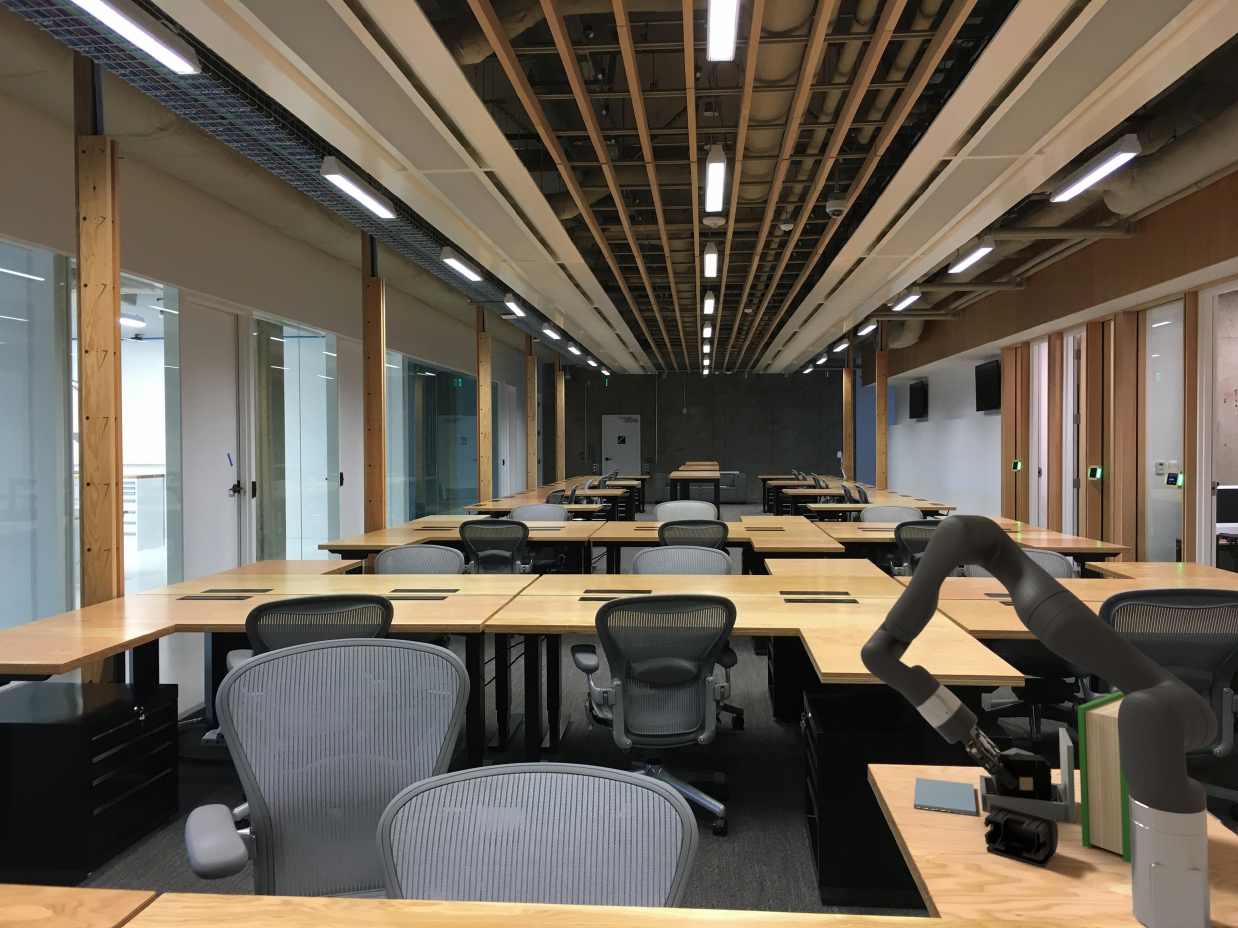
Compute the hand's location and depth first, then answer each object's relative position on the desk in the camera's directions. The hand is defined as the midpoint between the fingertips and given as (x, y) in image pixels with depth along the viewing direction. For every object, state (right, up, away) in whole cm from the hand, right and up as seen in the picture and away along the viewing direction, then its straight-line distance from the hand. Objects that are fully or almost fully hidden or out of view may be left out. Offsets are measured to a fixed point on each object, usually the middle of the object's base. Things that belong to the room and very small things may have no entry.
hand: (1013, 779), depth 154 cm
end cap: (-8, -5, -19) cm, 21 cm away
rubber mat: (-12, -5, +4) cm, 13 cm away
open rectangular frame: (+2, -5, 0) cm, 5 cm away
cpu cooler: (+2, -5, 0) cm, 5 cm away
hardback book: (+13, -5, -15) cm, 21 cm away
